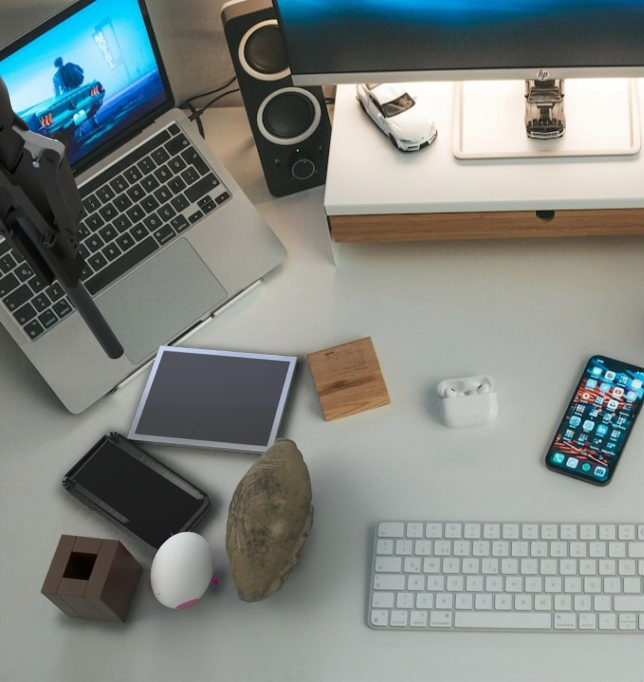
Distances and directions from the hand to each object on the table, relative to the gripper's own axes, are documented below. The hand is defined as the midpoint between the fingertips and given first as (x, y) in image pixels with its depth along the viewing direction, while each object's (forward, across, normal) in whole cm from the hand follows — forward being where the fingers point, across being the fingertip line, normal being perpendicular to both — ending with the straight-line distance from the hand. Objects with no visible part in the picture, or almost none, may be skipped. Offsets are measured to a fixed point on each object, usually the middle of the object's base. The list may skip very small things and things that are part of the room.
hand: (64, 273), depth 94 cm
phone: (+28, 0, +8) cm, 29 cm away
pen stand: (+28, 0, +19) cm, 34 cm away
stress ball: (+28, -7, +17) cm, 33 cm away
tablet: (+28, -5, -4) cm, 29 cm away
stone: (+28, -15, +11) cm, 34 cm away
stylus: (+13, 0, 0) cm, 13 cm away
